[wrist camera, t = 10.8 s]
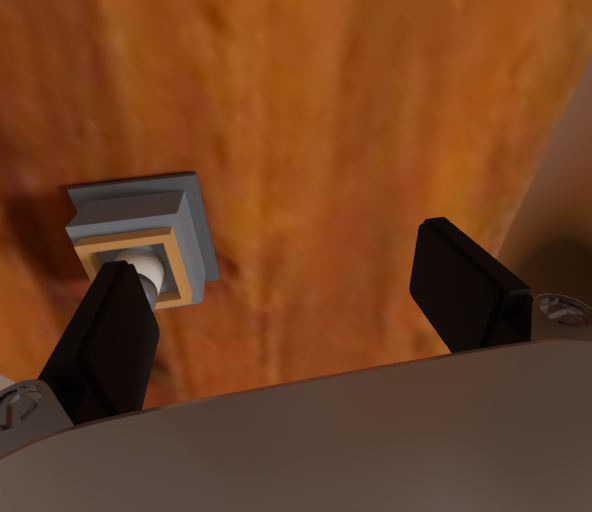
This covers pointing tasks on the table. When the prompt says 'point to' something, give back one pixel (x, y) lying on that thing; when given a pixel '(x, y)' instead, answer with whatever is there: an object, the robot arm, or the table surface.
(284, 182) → the table surface
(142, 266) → the gray and white capsule
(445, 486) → the robot arm
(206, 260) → the grey square peg holder
